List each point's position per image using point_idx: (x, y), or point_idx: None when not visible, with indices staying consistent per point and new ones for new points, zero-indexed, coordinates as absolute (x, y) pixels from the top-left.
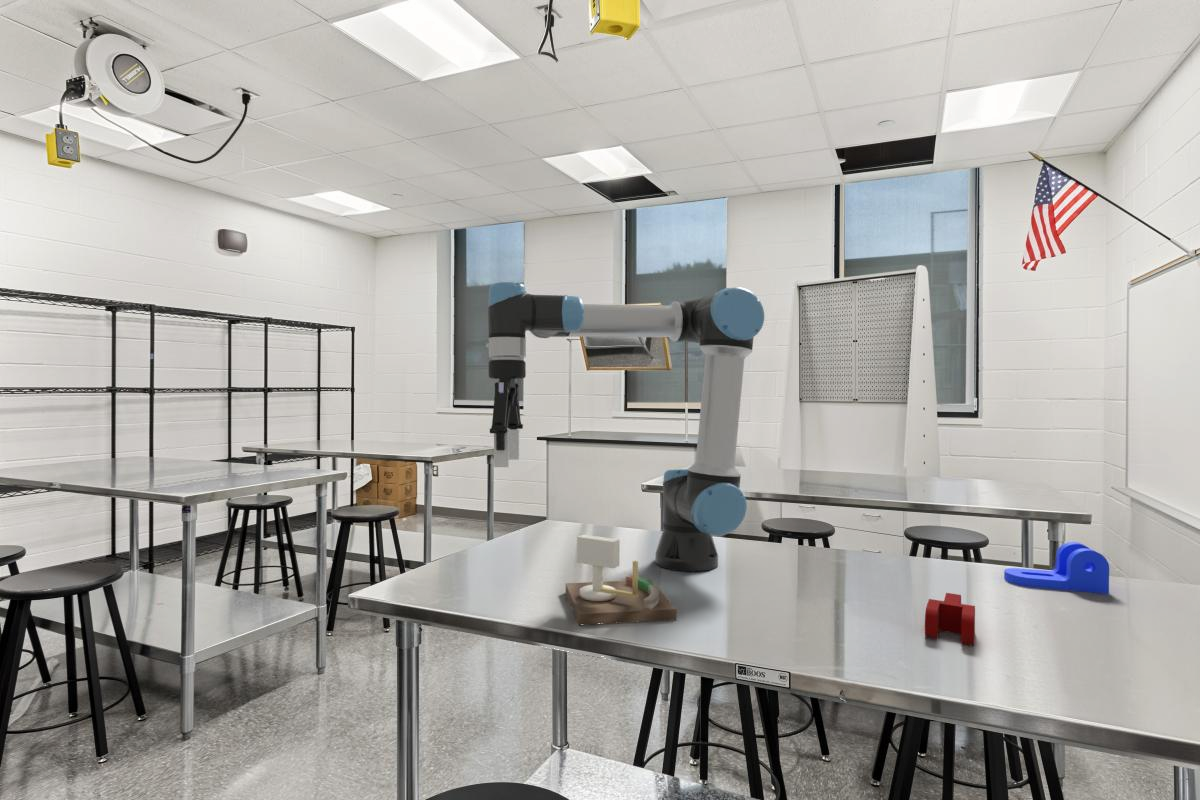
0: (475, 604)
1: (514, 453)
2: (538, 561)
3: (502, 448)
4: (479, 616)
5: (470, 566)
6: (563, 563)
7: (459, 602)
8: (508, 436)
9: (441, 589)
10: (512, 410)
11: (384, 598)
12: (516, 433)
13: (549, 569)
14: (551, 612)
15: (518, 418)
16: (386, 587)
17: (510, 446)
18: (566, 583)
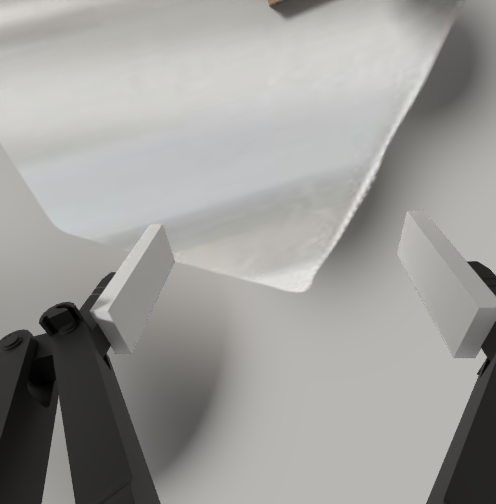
0: (336, 158)
1: (159, 251)
2: (93, 116)
3: (482, 270)
4: (389, 137)
5: (163, 215)
6: (83, 59)
7: (327, 182)
8: (467, 294)
9: (274, 220)
10: (132, 449)
11: (313, 267)
12: (122, 303)
13: (133, 81)
14: (381, 11)
15: (56, 369)
16: (274, 277)
17: (154, 281)
18: (270, 1)
